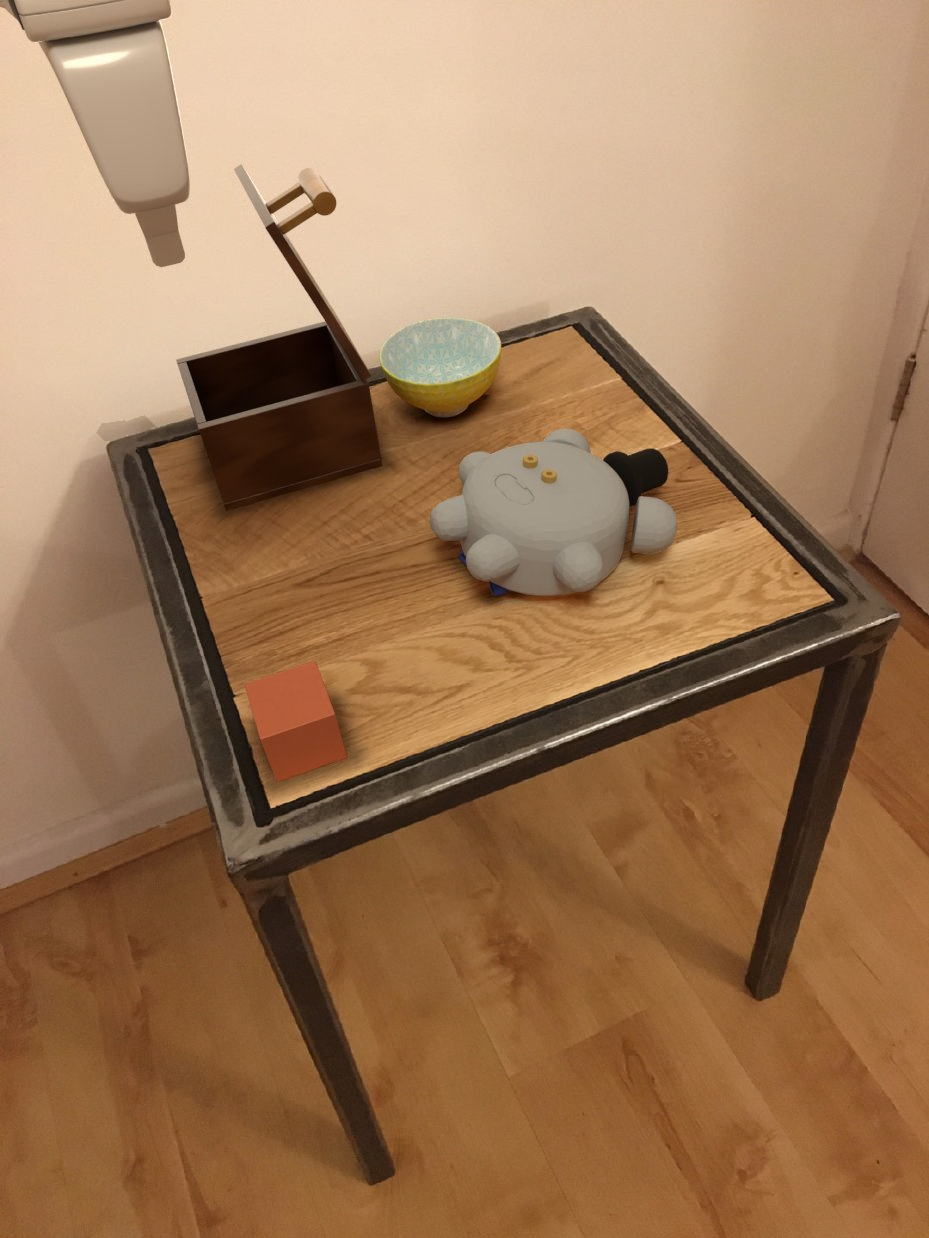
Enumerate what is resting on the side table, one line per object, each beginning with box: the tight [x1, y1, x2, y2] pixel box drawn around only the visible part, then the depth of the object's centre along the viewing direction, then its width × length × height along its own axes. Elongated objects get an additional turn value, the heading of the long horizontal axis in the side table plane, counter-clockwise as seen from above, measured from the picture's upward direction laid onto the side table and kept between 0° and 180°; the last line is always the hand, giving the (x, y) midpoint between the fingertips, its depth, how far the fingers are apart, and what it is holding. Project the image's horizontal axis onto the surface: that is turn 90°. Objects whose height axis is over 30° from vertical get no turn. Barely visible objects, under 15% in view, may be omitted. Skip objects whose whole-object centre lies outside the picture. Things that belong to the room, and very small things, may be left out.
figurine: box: [429, 428, 678, 597], centre depth 76 cm, size 17×8×20 cm
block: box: [244, 660, 348, 783], centre depth 65 cm, size 5×5×5 cm
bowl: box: [378, 316, 502, 418], centre depth 91 cm, size 11×12×6 cm
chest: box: [175, 320, 383, 512], centre depth 86 cm, size 15×12×9 cm
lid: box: [233, 163, 372, 381], centre depth 78 cm, size 15×12×6 cm
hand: (155, 226), depth 56 cm, fingers open, 8 cm apart
